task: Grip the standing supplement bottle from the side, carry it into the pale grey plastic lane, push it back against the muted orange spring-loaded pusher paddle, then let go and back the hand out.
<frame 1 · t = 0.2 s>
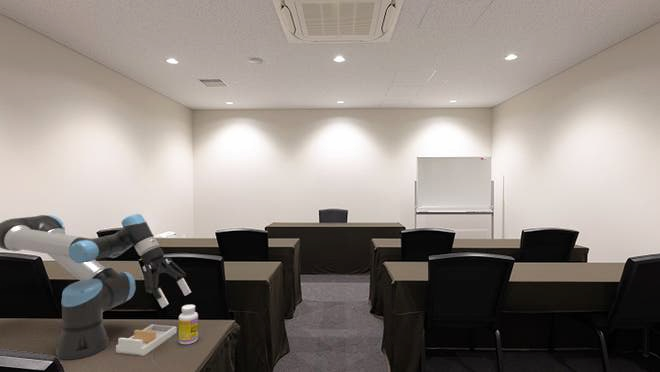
hand: (177, 299, 131), 15 cm above the table, tool tilted 35°, fingers open, 13 cm apart
lane: (148, 342, 129), on the table
supplement bottle: (188, 341, 130), on the table
pusher: (145, 336, 127), point 3 cm above the table, slide at 0.0 cm
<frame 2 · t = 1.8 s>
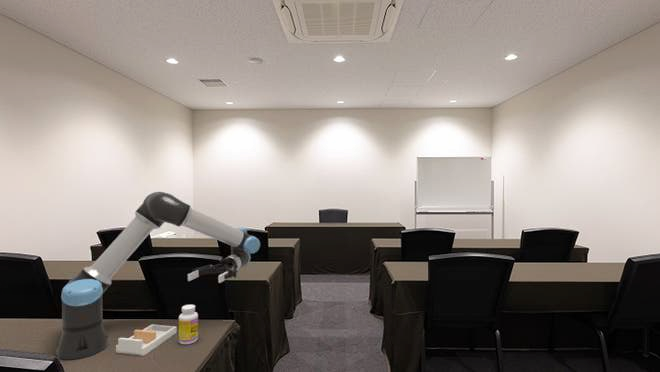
hand: (203, 278, 140), 20 cm above the table, tool horizontal, fingers open, 13 cm apart
nothing on the table moved.
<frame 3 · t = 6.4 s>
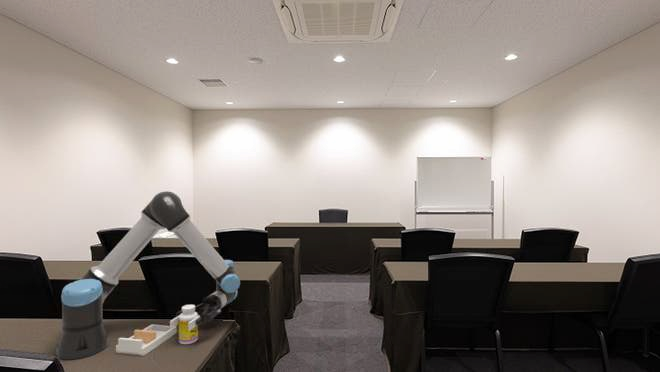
hand: (180, 325, 125), 8 cm above the table, tool horizontal, fingers closed on supplement bottle, 7 cm apart
supplement bottle: (188, 341, 130), on the table, touching gripper
everything else where it was.
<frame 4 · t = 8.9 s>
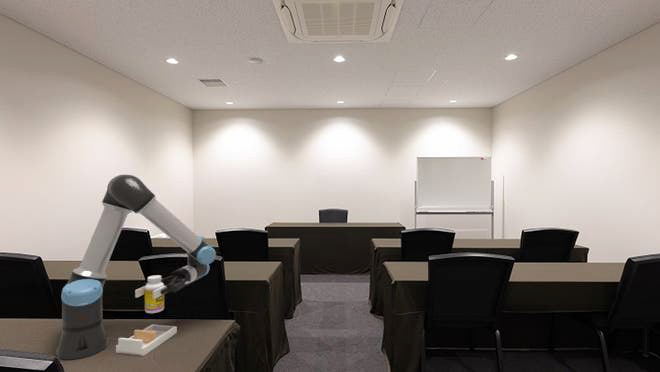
hand: (144, 294, 127), 18 cm above the table, tool horizontal, fingers closed on supplement bottle, 7 cm apart
supplement bottle: (154, 310, 132), point 10 cm above the table, touching gripper
everything else where it was.
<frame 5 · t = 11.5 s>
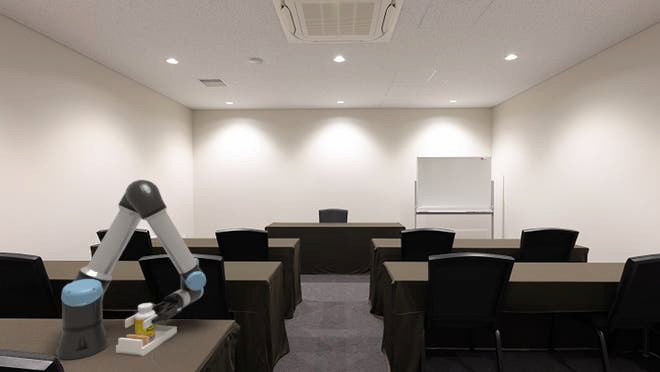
hand: (134, 324, 122), 9 cm above the table, tool horizontal, fingers closed on supplement bottle, 7 cm apart
supplement bottle: (145, 340, 127), point 1 cm above the table, touching gripper, pusher
pusher: (137, 341, 124), point 3 cm above the table, slide at 3.7 cm, touching supplement bottle
when the fingers open (9 cm above the table, at t = 11.7 s): supplement bottle stays where it is, resting on lane, pusher.
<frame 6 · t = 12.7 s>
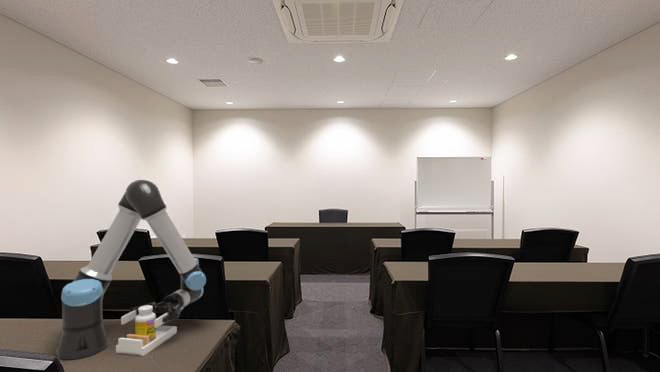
hand: (138, 322, 124), 9 cm above the table, tool horizontal, fingers open, 13 cm apart
supplement bottle: (145, 342, 128), resting on lane, pusher
everything else where it was.
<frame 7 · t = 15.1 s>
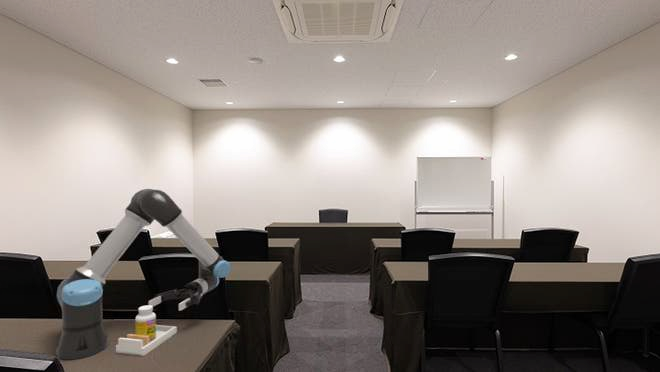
hand: (164, 306, 137), 10 cm above the table, tool horizontal, fingers open, 13 cm apart
nothing on the table moved.
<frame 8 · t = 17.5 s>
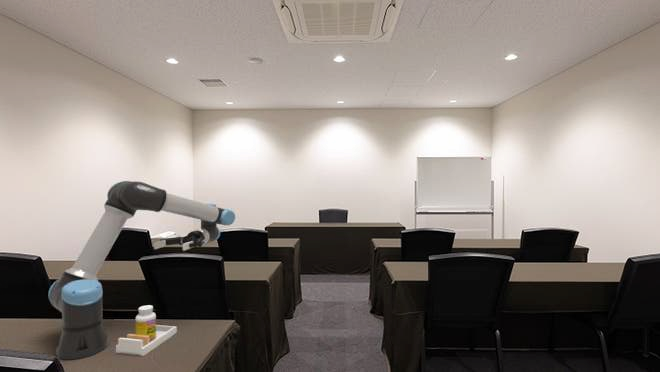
hand: (168, 246, 146), 32 cm above the table, tool horizontal, fingers open, 13 cm apart
nothing on the table moved.
at the end: supplement bottle inside the target area (1.3 cm from its centre), resting on lane; supplement bottle tilted 0°; the gripper is holding nothing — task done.
